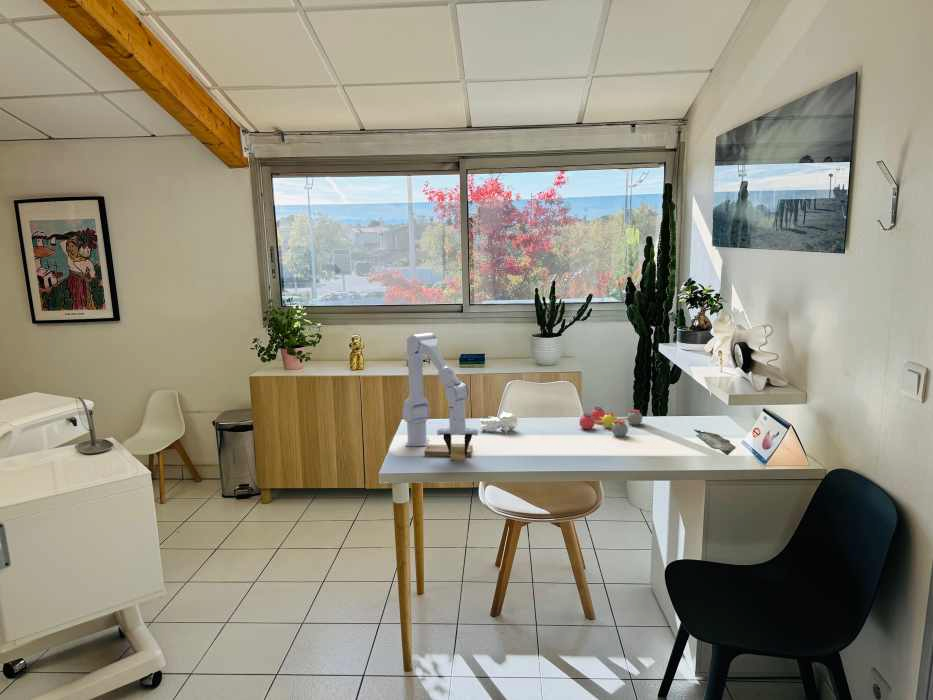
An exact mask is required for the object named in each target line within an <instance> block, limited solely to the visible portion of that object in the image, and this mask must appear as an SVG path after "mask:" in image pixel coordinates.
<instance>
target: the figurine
mask: <svg viewBox="0 0 933 700" xmlns="http://www.w3.org/2000/svg"><path fill="white" fill-rule="evenodd" d="M518 423H519V422H518V418H517V415H515V414H514V413H513V412H512V413H511V412H505V410H503V411H502V413H501V415H500V416H499V417H495V416H490V415H488V417H487V419H483V418H481V419H480V424H481V425H480V428H481V431H482V432H487V431H488V432H490V433H492V432H495V431H496V430H498V429H500V431H501V430H503V431H504V433H505V435H506V434H507V433H508V432H509V431H512V430H515V429H516V428H517V427H518Z"/></svg>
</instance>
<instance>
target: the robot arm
mask: <svg viewBox="0 0 933 700" xmlns="http://www.w3.org/2000/svg"><path fill="white" fill-rule="evenodd" d="M406 352H407V353H406V355H407V363H408V393H409V394H408V395H409V396H408V397H407V399H405V400H404V402H403V405H402V406H403V407H402V412H401V415H402V418H403V420H404V421H405V422H406V428H407V433H406V434H407V440H406V443H405V447H427V445H428V442H429V440H430V438H429V437H427V421H428V418H429V417H430V415H431V409H430V405H429V400H428V399H427V398H426V397H424V379H423V377H424V376H423V375H424V374H423V356H428V358H429V359H430V360H431V363H432V364H433V365H434V366H435V368H436V370H438V372H437V377H438V378H439V380H440V382H441V384H442V386H443V387H444V389H445V393H444V395H445V398H446V400H447V401H446V402H447V405H448V410H449V413H448V414H449V415H448V416H449V420H448V421H449V427H445V428H437V430H436V434H437V436H441V435H442V436H443V437H442V438H443V441H444V442H445V445H447V447H448V450H449V455H451V444H452V436H464V444H465V455H467V449H468V445H470V442H471V440H472V438H473V436H476V437H477V436H479V429H478V428H471V427H466V400H467V399H468V397H469V389H468V385H466V384H465V383H463V382H462V381H461V380H459V378H458V376H457V374H456V373H455V372H454V369H453V368H452V366H451V367H450V366H447V363H446V361H445V359H444V358H443V357H444V356H442V355H443V354H442V352H441V351H440V349H439V339H437V336H436V334H435V333H434V332H432V331H431V332H427V333H418V334H411V335H410V336H409V337H408V338H407V339H406Z"/></svg>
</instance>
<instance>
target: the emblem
mask: <svg viewBox="0 0 933 700" xmlns="http://www.w3.org/2000/svg"><path fill="white" fill-rule="evenodd" d="M697 430H698V431H697ZM693 431H694V432H696V435H695V436H696V437H697V438H698V437H699V438H698V439H700V440H701V441H702V442H703V441H704V442H703V443H705V444H706V445H707V446H709V448H711V449H714V450H719V451H721V452H722V453H724V455H726V456H728V455H729V454H730V453H731V452H732V451H733V450H735V448H736V446H735V445H733V444H732V443H730V440H729V439H726V438H723V436H721V435H720V434H717V433H711V432H707V431H704V432H701V431H702V430H699V429H695V428H694V430H693ZM698 433H699V434H698Z"/></svg>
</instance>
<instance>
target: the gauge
mask: <svg viewBox="0 0 933 700" xmlns="http://www.w3.org/2000/svg"><path fill="white" fill-rule="evenodd" d="M466 457H467V456H466V455H465V443H451V456H450V461H463V462H464V461H466Z"/></svg>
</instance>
